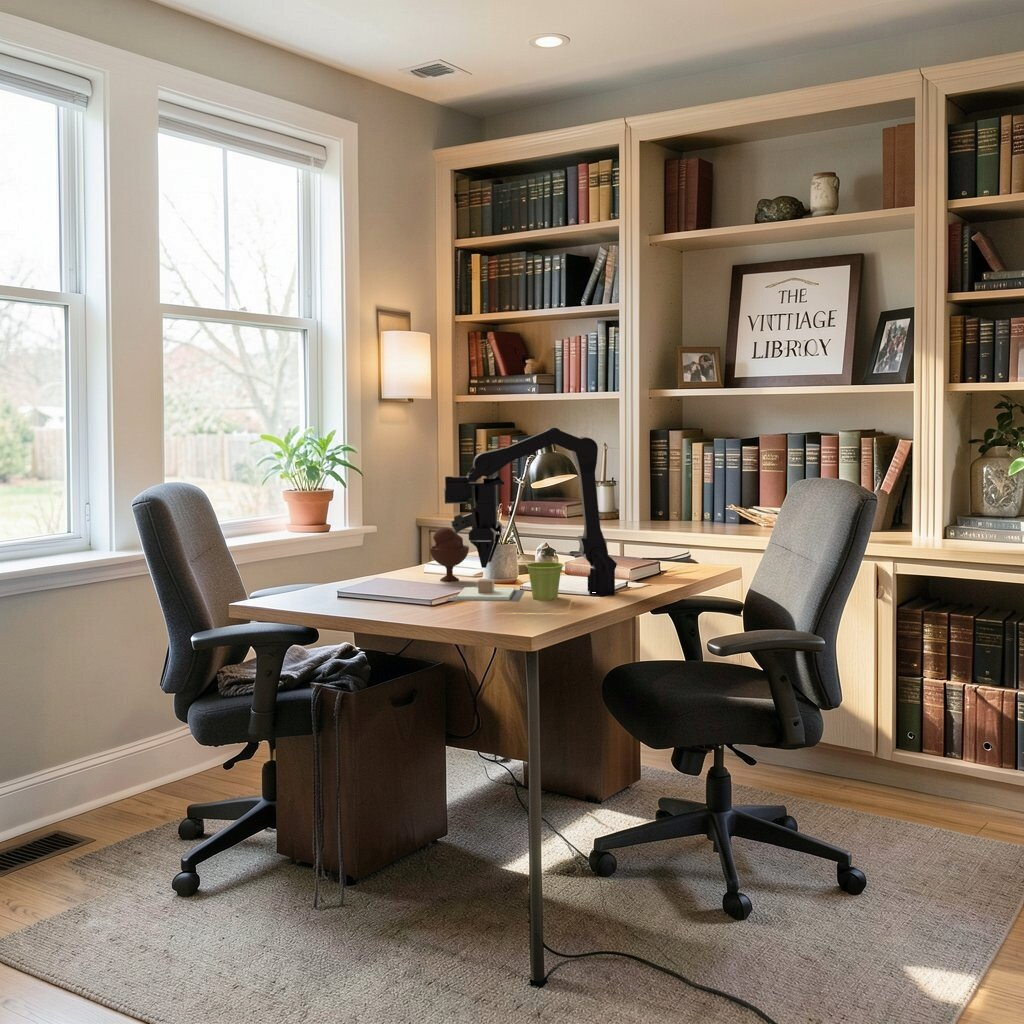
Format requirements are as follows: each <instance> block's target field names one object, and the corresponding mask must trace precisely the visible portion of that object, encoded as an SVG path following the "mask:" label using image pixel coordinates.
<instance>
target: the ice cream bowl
mask: <svg viewBox="0 0 1024 1024" xmlns="http://www.w3.org/2000/svg"><path fill="white" fill-rule="evenodd" d="M432 538H433V541H434V543H435V545H432V546H429V552H430V554H431V557H432V559H434V561H435V562H436V563H438V564H439V565H441V566H443V567H445V569H446V575H445V576H443V577H441V578H440V580H439V582H442V583H455V582H456V583H457V582H459V581H460V579H459V577H457V576H455V575H454V572H453V569H454V567H456V566H458V565H460V564H461V563H462V562H463V561H464V560H465V559H467V556H468V555H469V550H470V547H469V545H466V544H464V539H463V537H462V536H461V535H459V534H458V532H457V533H455V530H454V529H452V528H451V527H447V526H445V527H439V528H438V529H437V530H436V531H435V532H434V535H433V536H432Z"/></svg>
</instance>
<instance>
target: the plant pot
mask: <svg viewBox="0 0 1024 1024" xmlns="http://www.w3.org/2000/svg"><path fill="white" fill-rule="evenodd" d="M525 567H526V568H527V573H528V575H529V581H530V587H531V589H530V590H531V595H532V599H533V600H536V601H551V600H557V599H558V597H559V596H558V595H559V587H560V580H561V579H560V578H561V574H562V571H563V567H564V563H561V562H555V561H554V562H553V561H539V562H538V561H537V562H530V563H527V564H525Z"/></svg>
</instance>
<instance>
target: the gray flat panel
mask: <svg viewBox="0 0 1024 1024" xmlns="http://www.w3.org/2000/svg"><path fill="white" fill-rule="evenodd" d="M525 591H526V590H525V589H515V591H514V593H513V594H512V596H511V598H510V599H509V600H461V599H457V596H456V597H453V598H448V597H447V598H448V599H445V601H447V602H451V601H452V602H516V603H517V602H519V601H520V600H521V598H522V596H523V595H524V593H525Z"/></svg>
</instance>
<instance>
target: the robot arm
mask: <svg viewBox="0 0 1024 1024" xmlns="http://www.w3.org/2000/svg"><path fill="white" fill-rule="evenodd" d="M551 445H556V446H559V447H560V448H563V449H565V450H568V451H569V452H570V451H571V454H572V457H573V461H574V464H575V467H576V470H577V472H578V478H579V488H580V497H581V506H582V517H583V527H584V528H583V532H582V534H583V535H578V536H577V538H578V543H579V549H578V552H580V554H581V555H582V557H583V558H584V559H585V560H586V561H587V562H588V563H589V565H590V568H589V573H588V574H587V592H588V593H589V595H591V596H592V595H593V596H594V595H595V596H615V595H616V568H617V566H618V563H617V562H616V561H615V560H614V559H613V558H612V557H611V556H610V555H609V550H608V547H607V546H608V545H607V543H606V540H605V537H604V534H603V532H602V527H601V523H600V513H599V512H600V511H599V502H598V492H597V491H598V490H597V481H596V468H597V464H598V454H599V453H598V452H599V447H598V444H597V442H596V440H594V439H593V438H591V437H586V436H580V437H577V436H575V435H572V434H569V433H567V432H564V431H562V430H561V429H560V428H558V427H549V428H547V429H546V430H545V431H541V432H540V433H537V434H535V435H533V436H532V435H531V436H530V437H527V438H525V439H523V440H520V441H518V442H516V443H513V444H511V445H508V446H506V447H502V448H497V449H491V450H487V451H483V452H480V453H478V454H476V456H474V458H473V460H472V462H473V463H472V467H471V468H470V470H469V472H467V474H466V476H452V475H451V476H449V475H446V476H444V488H443V489H444V490H443V493H444V494H443V496H444V504H446V505H447V504H448V505H450V504H468V501H470V500H472V499H473V503H474V504H473V507H472V508H471V513H467V514H465V515H463V514H461V513H460V514H457V515H454V518H453V519H452V520H451V521H450V522H451V527H452V528H453V530H454V532H455V533H457V534H458V533H459V532H461V531H463V530H465V529H468V528H470V527H471V530H470V531H468V541H469V542H470V544H472V545H473V546H474V547H475V548H476V550H477V554H478V559H479V561H480V566H481V568H483V569H485V568H487V566H488V563H491V562H492V561H493V557H494V556H495V555H494V554H495V552H496V549H497V547H498V544H499V542H500V540H501V536H502V533H503V524H502V522H500V521H499V520H498V511H499V506H498V497H497V496H498V487H497V486H501V485H502V486H504V485H505V481H503V480H502V479H501V478H500V475H498V474H496V475H495V477H490V476H493V475H494V474H495V473H497V472H498V471H501V470H502V469H503V468H504V467H506V466H507V465H509V464H510V463H511V462H514V461H516V460H518V459H521V458H523V457H526V456H527V455H531V454H533V453H535V452H538V451H539V450H542V449H544V448H548V447H549V446H551ZM482 477H483V478H482ZM481 478H482V481H478V480H479V479H481ZM477 481H478V482H477ZM472 486H473V491H472ZM472 492H473V495H472ZM472 496H473V497H472ZM496 532H498V533H496ZM592 592H596V593H592Z"/></svg>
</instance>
